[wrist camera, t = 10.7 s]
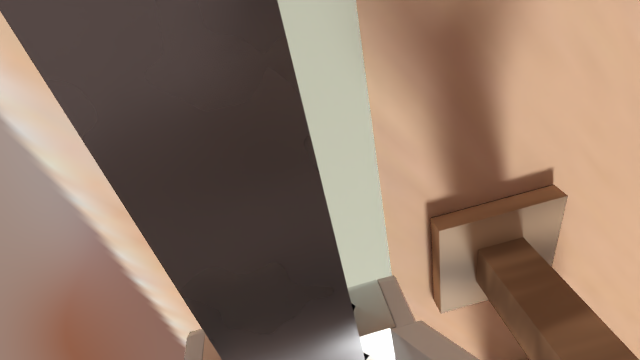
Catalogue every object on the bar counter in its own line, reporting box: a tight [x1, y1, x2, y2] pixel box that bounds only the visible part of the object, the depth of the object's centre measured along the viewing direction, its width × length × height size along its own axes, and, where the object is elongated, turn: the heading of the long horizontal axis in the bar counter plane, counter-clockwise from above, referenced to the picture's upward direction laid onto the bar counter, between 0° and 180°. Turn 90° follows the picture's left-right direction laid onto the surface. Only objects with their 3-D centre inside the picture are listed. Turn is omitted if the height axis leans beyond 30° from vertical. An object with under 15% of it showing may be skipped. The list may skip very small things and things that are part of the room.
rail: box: [0, 0, 365, 360], centre depth 10 cm, size 30×3×3 cm, turn 11°
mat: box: [277, 0, 392, 288], centre depth 18 cm, size 34×10×1 cm, turn 11°
